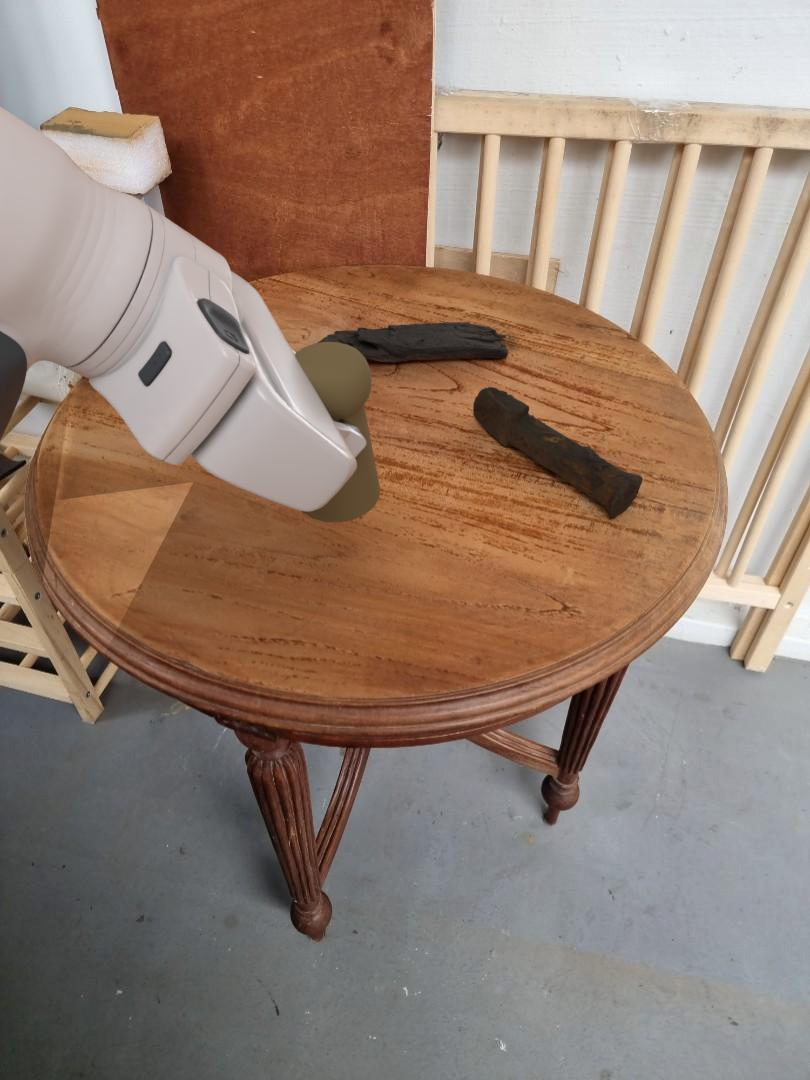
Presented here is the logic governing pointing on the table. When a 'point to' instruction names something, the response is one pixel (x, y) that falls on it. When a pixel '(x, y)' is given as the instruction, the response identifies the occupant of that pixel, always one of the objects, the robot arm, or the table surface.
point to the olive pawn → (344, 394)
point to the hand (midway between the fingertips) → (341, 420)
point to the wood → (424, 342)
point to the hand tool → (555, 450)
